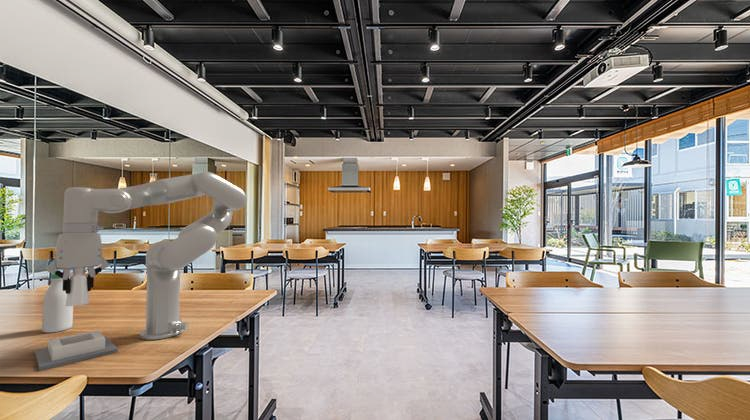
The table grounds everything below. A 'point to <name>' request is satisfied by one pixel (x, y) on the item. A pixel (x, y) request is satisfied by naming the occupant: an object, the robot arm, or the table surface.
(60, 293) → the milk bottle
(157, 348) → the table surface
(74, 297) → the salt shaker
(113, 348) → the socket
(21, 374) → the table surface
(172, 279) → the robot arm
